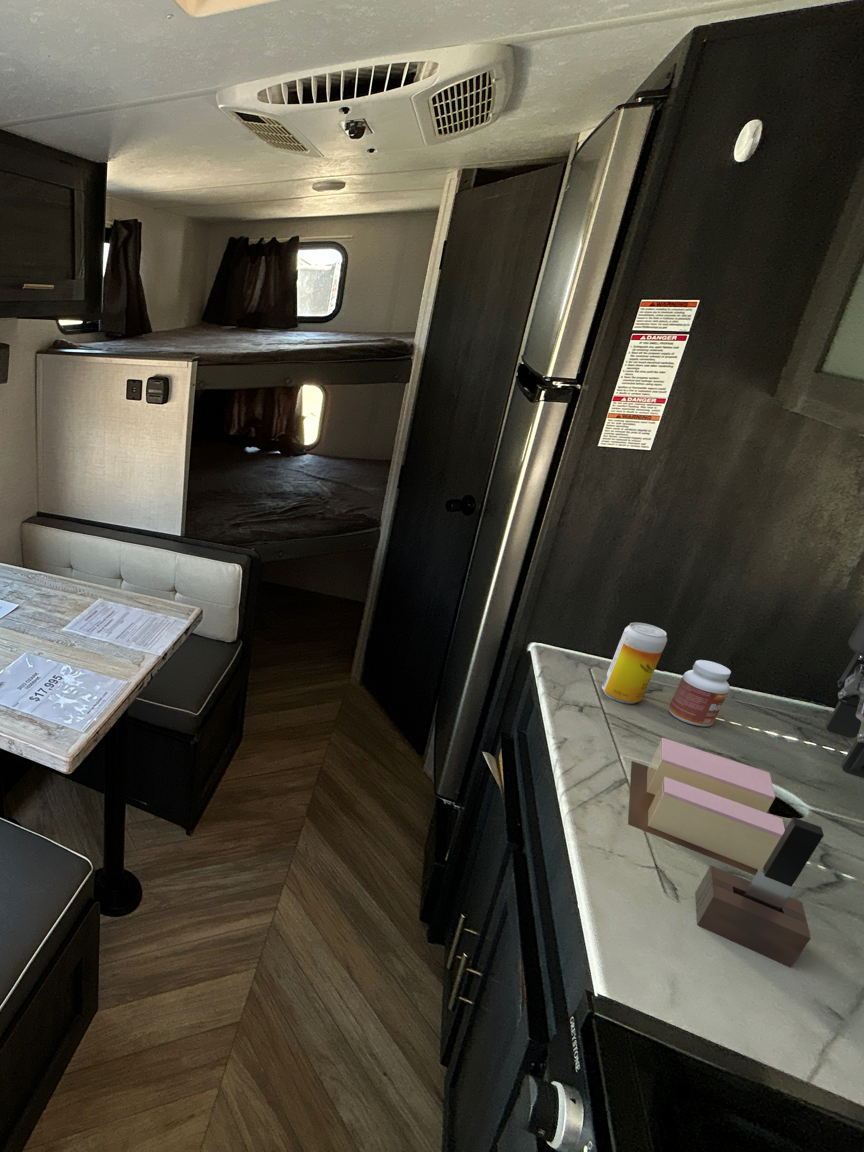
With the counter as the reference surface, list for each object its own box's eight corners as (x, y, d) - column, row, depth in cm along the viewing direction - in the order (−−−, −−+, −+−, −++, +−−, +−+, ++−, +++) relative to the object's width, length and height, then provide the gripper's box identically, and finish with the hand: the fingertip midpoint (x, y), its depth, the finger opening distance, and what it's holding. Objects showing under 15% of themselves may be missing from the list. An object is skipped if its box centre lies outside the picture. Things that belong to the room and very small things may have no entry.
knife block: (780, 936, 77) (802, 902, 75) (787, 973, 73) (811, 938, 71) (692, 898, 82) (710, 864, 80) (693, 930, 78) (713, 896, 76)
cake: (751, 806, 95) (769, 772, 93) (755, 832, 91) (775, 797, 88) (647, 769, 103) (662, 737, 100) (646, 792, 98) (662, 758, 96)
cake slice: (761, 854, 87) (782, 818, 85) (764, 872, 85) (786, 836, 82) (648, 810, 95) (664, 776, 92) (647, 826, 92) (664, 791, 89)
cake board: (765, 813, 95) (768, 808, 95) (782, 892, 83) (785, 887, 82) (629, 765, 105) (631, 760, 105) (625, 829, 93) (627, 824, 92)
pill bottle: (708, 732, 113) (733, 680, 109) (663, 715, 117) (686, 665, 113) (715, 719, 116) (740, 668, 112) (671, 703, 121) (694, 653, 117)
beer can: (644, 709, 119) (673, 640, 113) (603, 699, 122) (630, 632, 116) (636, 692, 124) (664, 626, 118) (597, 683, 127) (623, 618, 121)
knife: (761, 933, 77) (826, 828, 70) (762, 942, 75) (829, 837, 69) (727, 918, 78) (787, 815, 72) (728, 927, 77) (789, 823, 71)
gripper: (1024, 663, 53) (922, 809, 59) (966, 605, 63) (884, 735, 69) (887, 633, 58) (806, 772, 64) (853, 583, 68) (786, 707, 74)
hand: (847, 752), depth 67 cm, fingers open, 8 cm apart
